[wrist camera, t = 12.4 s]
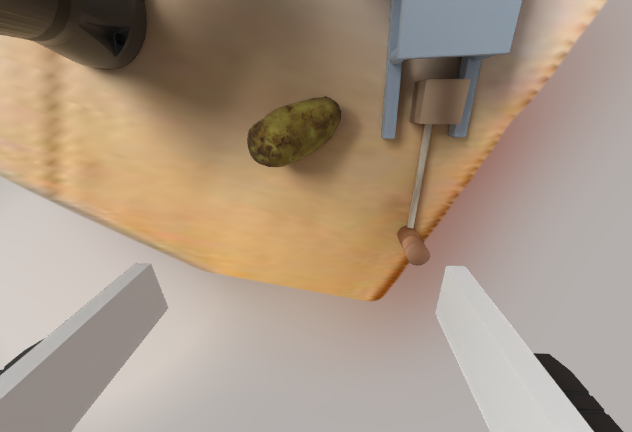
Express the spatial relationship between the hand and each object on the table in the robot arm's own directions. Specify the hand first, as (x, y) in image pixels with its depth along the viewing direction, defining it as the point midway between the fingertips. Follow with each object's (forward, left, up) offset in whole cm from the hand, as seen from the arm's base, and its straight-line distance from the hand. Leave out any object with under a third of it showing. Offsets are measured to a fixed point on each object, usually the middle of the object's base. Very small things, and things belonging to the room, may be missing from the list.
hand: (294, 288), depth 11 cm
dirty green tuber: (-4, +4, -31) cm, 31 cm away
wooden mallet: (+14, -3, -30) cm, 34 cm away
